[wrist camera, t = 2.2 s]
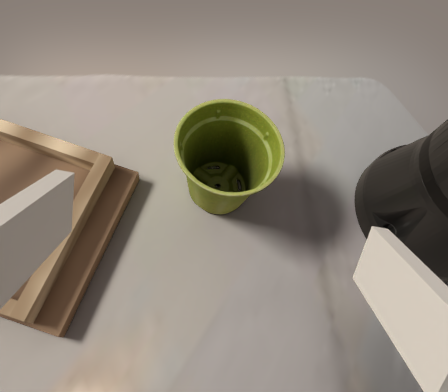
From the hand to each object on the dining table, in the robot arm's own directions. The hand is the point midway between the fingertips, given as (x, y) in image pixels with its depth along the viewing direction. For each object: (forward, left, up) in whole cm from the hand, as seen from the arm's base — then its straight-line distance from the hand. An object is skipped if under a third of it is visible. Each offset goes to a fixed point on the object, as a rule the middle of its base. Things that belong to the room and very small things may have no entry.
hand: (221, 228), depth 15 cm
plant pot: (+1, -11, -19) cm, 22 cm away
